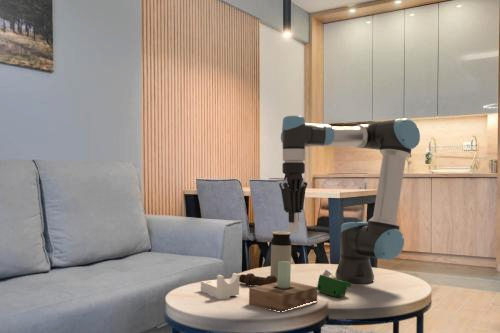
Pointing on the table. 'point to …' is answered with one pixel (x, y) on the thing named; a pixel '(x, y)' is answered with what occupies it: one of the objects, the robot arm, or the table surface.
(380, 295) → the table surface
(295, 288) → the board
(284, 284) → the peg
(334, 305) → the table surface
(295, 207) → the robot arm
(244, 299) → the table surface
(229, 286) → the bracket
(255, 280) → the bolt
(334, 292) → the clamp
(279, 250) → the travel mug
